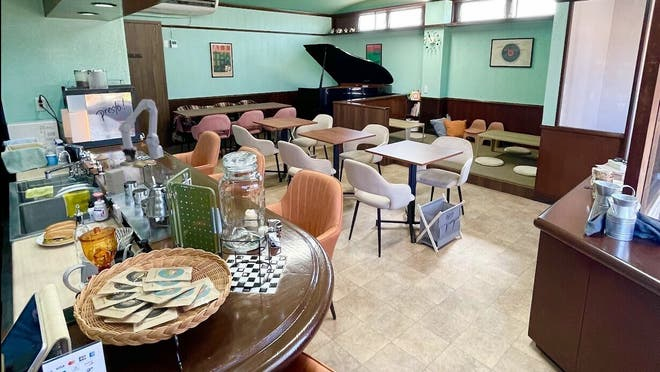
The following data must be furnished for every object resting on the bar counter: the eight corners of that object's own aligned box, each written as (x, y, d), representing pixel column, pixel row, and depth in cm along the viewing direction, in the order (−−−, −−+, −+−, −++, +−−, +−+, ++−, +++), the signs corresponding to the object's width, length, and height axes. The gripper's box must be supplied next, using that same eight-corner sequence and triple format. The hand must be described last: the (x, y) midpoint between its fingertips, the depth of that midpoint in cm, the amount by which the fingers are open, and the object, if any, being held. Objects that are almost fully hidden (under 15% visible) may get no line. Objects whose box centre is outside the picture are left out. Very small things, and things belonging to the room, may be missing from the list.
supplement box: (121, 188, 237) (116, 168, 233) (128, 190, 233) (123, 169, 229) (108, 192, 231) (103, 171, 227) (115, 194, 227) (110, 173, 223)
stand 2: (147, 162, 297) (146, 160, 297) (156, 163, 293) (156, 160, 293) (133, 166, 287) (132, 164, 287) (143, 167, 283) (142, 165, 282)
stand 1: (134, 160, 303) (133, 158, 303) (143, 161, 299) (143, 159, 299) (120, 164, 293) (119, 162, 293) (129, 165, 289) (129, 163, 288)
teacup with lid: (96, 173, 275) (92, 156, 271) (97, 170, 282) (93, 153, 279) (116, 170, 279) (112, 153, 276) (116, 167, 287) (112, 151, 284)
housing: (133, 158, 299) (131, 152, 298) (137, 159, 297) (135, 153, 296) (124, 161, 293) (123, 155, 292) (129, 161, 291) (127, 155, 290)
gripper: (115, 141, 291) (119, 159, 295) (129, 142, 284) (133, 161, 289) (124, 139, 297) (127, 157, 301) (137, 140, 290) (141, 158, 295)
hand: (131, 159), depth 295 cm, fingers closed on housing, 4 cm apart
